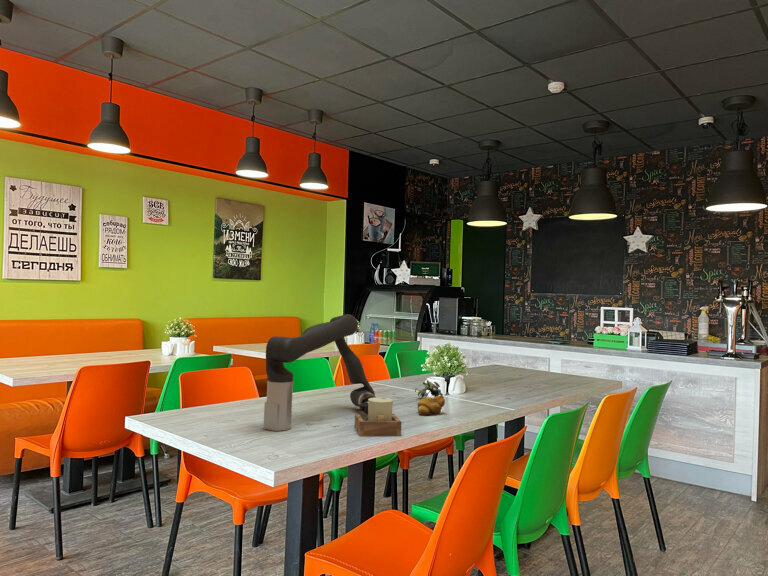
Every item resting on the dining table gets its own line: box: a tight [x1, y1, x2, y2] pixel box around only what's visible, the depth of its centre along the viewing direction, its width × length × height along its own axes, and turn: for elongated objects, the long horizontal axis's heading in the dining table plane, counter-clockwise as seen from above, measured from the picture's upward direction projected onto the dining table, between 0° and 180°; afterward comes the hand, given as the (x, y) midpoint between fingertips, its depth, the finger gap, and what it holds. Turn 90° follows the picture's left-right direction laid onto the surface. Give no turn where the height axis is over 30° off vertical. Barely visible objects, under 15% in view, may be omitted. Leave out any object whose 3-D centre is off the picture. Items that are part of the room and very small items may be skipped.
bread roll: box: [417, 395, 446, 416], centre depth 237 cm, size 13×10×8 cm
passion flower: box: [414, 379, 444, 399], centre depth 269 cm, size 11×11×12 cm
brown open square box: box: [354, 413, 403, 437], centre depth 202 cm, size 14×15×7 cm
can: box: [367, 396, 394, 421], centre depth 203 cm, size 9×9×12 cm
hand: (375, 411), depth 207 cm, fingers closed
